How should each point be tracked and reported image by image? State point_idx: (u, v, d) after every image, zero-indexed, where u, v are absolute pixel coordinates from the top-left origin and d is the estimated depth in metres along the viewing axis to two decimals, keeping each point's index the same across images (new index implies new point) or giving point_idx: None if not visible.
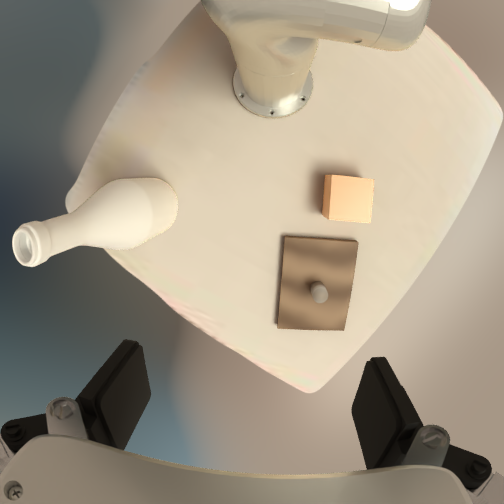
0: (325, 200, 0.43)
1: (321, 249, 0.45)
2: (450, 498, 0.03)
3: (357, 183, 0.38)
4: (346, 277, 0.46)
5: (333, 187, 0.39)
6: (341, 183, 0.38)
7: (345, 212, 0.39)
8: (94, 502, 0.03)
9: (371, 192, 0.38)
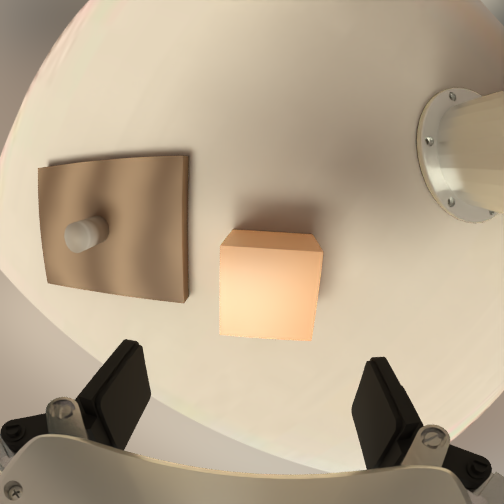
0: (262, 236, 0.21)
1: (163, 231, 0.22)
2: (450, 498, 0.03)
3: (303, 307, 0.19)
4: (121, 281, 0.24)
5: (294, 255, 0.18)
6: (304, 272, 0.18)
7: (238, 282, 0.19)
8: (94, 502, 0.03)
9: (283, 335, 0.19)
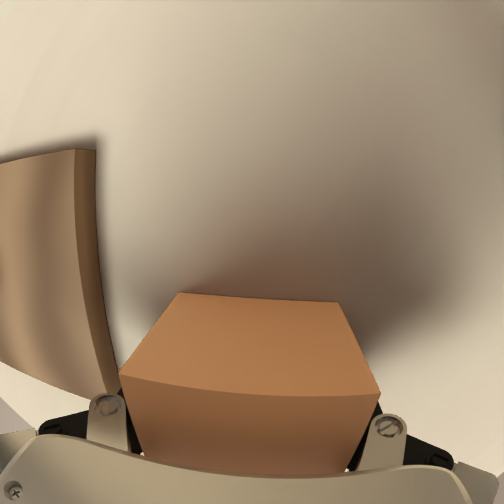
0: (232, 320, 0.09)
1: (58, 294, 0.10)
2: (450, 498, 0.03)
3: None
4: (25, 359, 0.12)
5: (306, 406, 0.06)
6: (327, 432, 0.06)
7: (174, 441, 0.07)
8: (94, 502, 0.03)
9: None
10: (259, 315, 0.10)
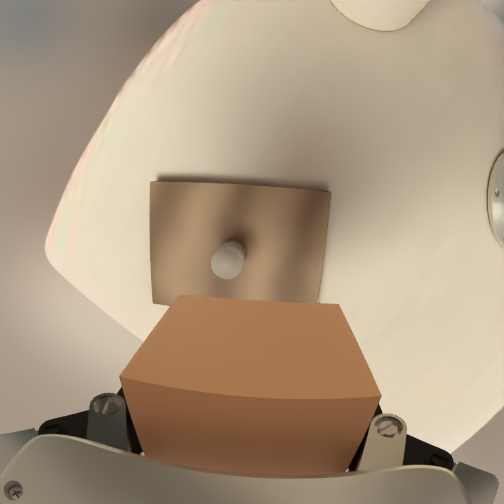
0: (233, 322, 0.09)
1: (306, 258, 0.25)
2: (450, 498, 0.03)
3: None
4: None
5: (307, 408, 0.06)
6: (328, 434, 0.06)
7: (175, 443, 0.07)
8: (94, 502, 0.03)
9: None
10: (260, 317, 0.10)
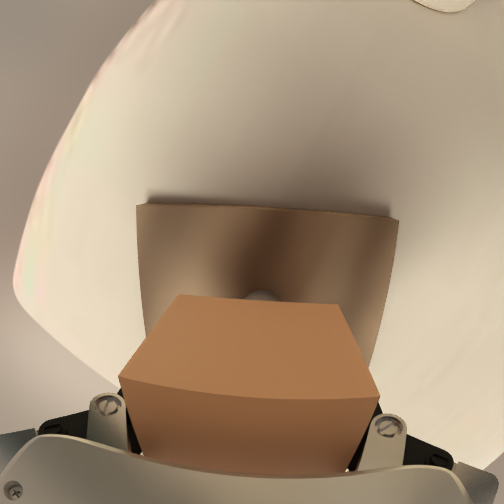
0: (232, 322, 0.09)
1: (362, 311, 0.17)
2: (450, 498, 0.03)
3: None
4: None
5: (306, 409, 0.06)
6: (326, 435, 0.06)
7: (174, 443, 0.07)
8: (94, 502, 0.03)
9: None
10: (259, 317, 0.10)
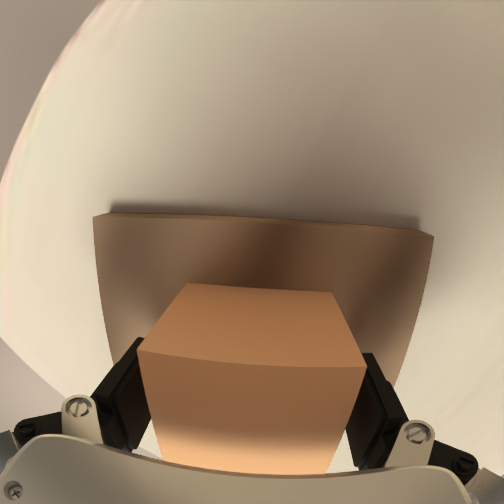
0: (236, 305, 0.11)
1: (382, 349, 0.13)
2: (450, 498, 0.03)
3: (312, 449, 0.08)
4: None
5: (301, 376, 0.07)
6: (321, 403, 0.07)
7: (184, 414, 0.08)
8: (94, 502, 0.03)
9: None
10: (260, 302, 0.11)
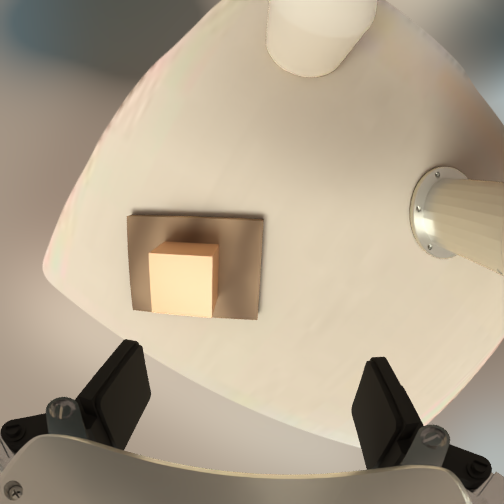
0: (180, 246, 0.31)
1: (246, 272, 0.33)
2: (450, 498, 0.03)
3: (203, 294, 0.28)
4: None
5: (193, 259, 0.27)
6: (201, 270, 0.27)
7: (160, 277, 0.28)
8: (94, 502, 0.03)
9: (192, 313, 0.29)
10: (189, 245, 0.31)
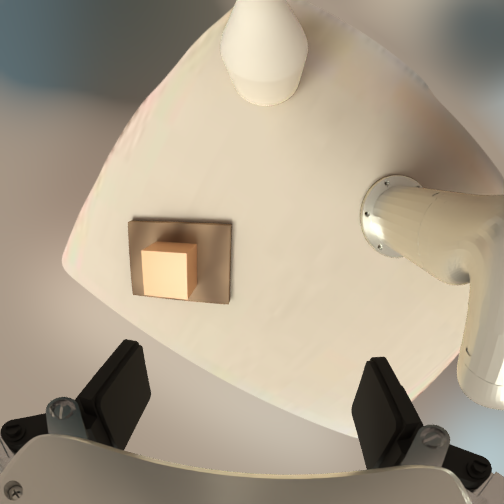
0: (167, 245, 0.40)
1: (218, 265, 0.42)
2: (450, 498, 0.03)
3: (180, 281, 0.37)
4: None
5: (173, 255, 0.36)
6: (178, 263, 0.37)
7: (150, 268, 0.37)
8: (94, 502, 0.03)
9: (173, 296, 0.38)
10: (173, 244, 0.40)
